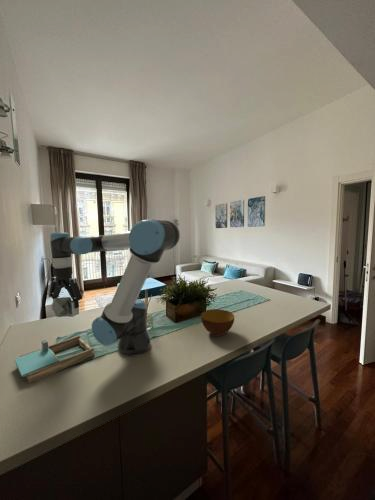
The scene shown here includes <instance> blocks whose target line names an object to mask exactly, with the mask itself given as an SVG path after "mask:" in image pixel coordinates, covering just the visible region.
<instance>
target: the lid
mask: <svg viewBox="0 0 375 500" xmlns="http://www.w3.org/2000/svg"><path fill="white" fill-rule="evenodd" d="M48 346H49V342H48V340H47V339H43V340H41V348H40V349H41V350H39V349H38V350H39V351H36V350H35V351H36V352H33V351H32V352H33V353H30V352H29V353H30V354H28V353H26V354H27V355H25V354H23V355H24V356H22V355H20V356H21V357H16V358H14V362H15V365H16V367H17V369H18V372H19V373H20V377H21V378H24V377H26V376H27V375H28V374H29V373H32V372H34V371H37V370H39V369H42V368H44V367H47V366H49V365H51V364H54V363H56V362H59V361H58V359H59V358H58V357H57V358H58V359H57V358H56V357H55V355H56V354H55V353H54V354H55V355H54V354H53V353H52V352H51V350H50V349H49V348H48Z"/></svg>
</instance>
